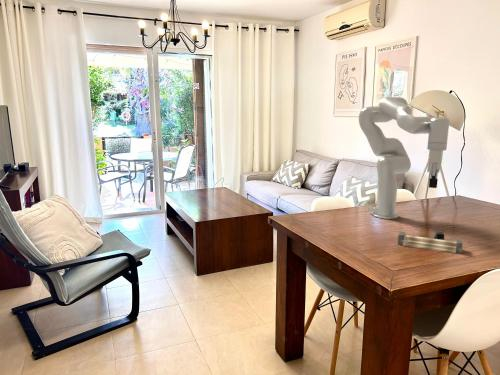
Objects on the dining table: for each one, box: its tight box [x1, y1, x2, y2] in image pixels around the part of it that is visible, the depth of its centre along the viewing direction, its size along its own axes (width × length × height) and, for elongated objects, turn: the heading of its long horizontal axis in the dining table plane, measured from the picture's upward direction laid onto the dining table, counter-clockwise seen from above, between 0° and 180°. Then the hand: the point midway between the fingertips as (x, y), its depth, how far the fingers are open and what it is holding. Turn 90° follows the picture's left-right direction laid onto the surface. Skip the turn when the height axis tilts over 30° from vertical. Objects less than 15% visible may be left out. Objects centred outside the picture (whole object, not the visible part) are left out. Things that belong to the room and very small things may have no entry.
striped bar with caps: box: [397, 231, 464, 254], centre depth 151 cm, size 23×6×4 cm, turn 62°
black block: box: [431, 230, 446, 240], centre depth 157 cm, size 12×7×5 cm, turn 162°
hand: (432, 187), depth 167 cm, fingers closed
